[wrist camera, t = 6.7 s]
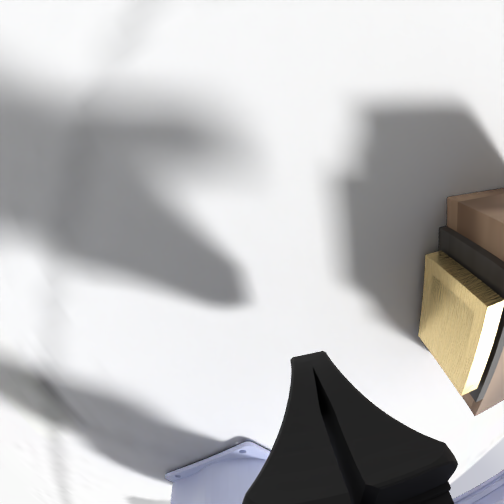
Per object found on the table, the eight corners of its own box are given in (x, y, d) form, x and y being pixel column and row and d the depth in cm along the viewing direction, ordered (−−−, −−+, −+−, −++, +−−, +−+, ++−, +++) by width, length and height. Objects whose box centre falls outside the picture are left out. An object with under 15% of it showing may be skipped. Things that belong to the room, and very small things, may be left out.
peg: (418, 335, 15) (461, 395, 11) (425, 254, 13) (487, 307, 9) (508, 300, 15) (554, 341, 10) (520, 228, 13) (578, 262, 9)
